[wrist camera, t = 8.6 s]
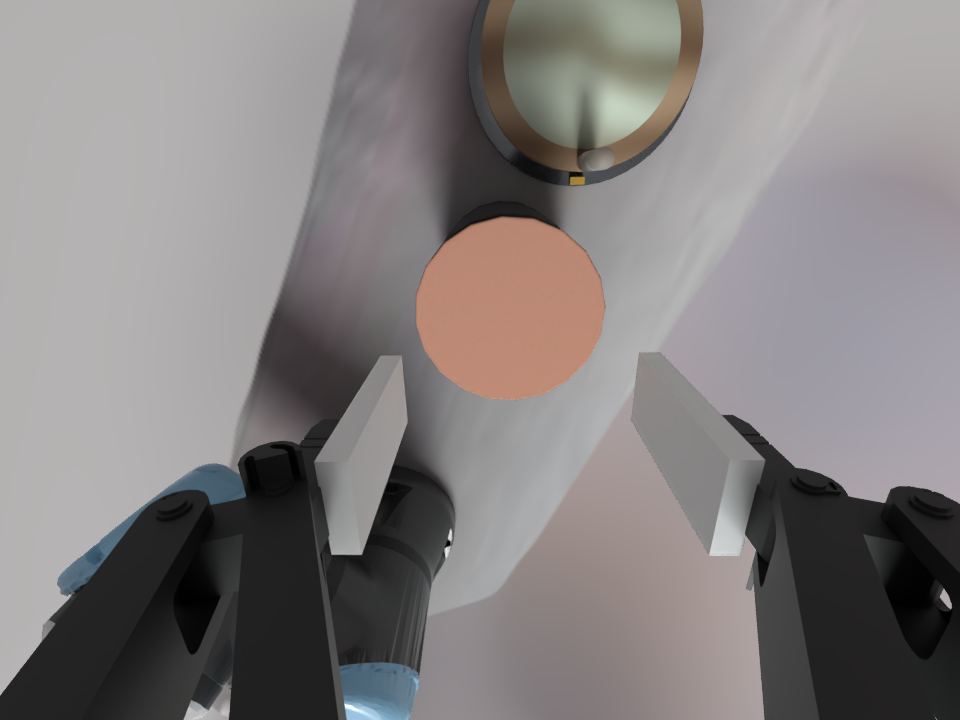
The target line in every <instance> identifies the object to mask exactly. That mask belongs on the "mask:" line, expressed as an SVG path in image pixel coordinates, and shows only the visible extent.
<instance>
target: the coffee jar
mask: <svg viewBox="0 0 960 720" xmlns="http://www.w3.org/2000/svg"><path fill="white" fill-rule="evenodd" d="M604 312H605V301H604V295H603V289H602V283H601V277H600V276H599V274H598V272H597V270H596V268H595V266H594V265H593V263H592V261H591V259H590V257H589V255H588V254H587V252H586V251H585V250H584V249H583V248H582V247H581V246H580V245H579V244H578V243H576V242H575V241H574V240H573V239H572V238H571V237H570V236H569V235H568V234H566V233H565V232H564V231H563V230H561V229H560V228H559V227H558V226H557V225H555V224H554V223H552V222H551V221H550V220H548V219H547V218H546V217H544V216H543V215H541V214H540V213H539V212H537V211H536V210H534V209H532V208H529V207H527V206H524V205H522V204H520V203H517V202H502V201H497V202H493V203H490V204H486V205H482V206H479V207H477V208H476V209H474V210H473V211H472V212H470V213H469V214H467V215H466V216H464V217H463V218H462V219H461V220H460V222H459V223H458V224H457V226H456V227H455V228H454V230H453V231H452V232H451V233H450V235H449V236H448V237H447V239H446V240H445V241H444V243H443V244H442V245H441V247H440V248H439V249H438V251H437V252H436V253H435V255H434V256H433V257H432V259H431V260H430V262H429V263H428V264H427V266H426V267H425V270H424V273H423V276H422V279H421V282H420V285H419V288H418V291H417V293H416V325H417V328H418V331H419V334H420V337H421V341H422V344H423V347H424V350H425V351H426V353H427V354H428V355H429V357H430V358H431V360H432V361H433V362H434V364H435V365H436V366H437V368H438V369H439V371H440V372H441V373H442V374H443V375H445V376H446V377H448V378H449V379H450V380H452V381H453V382H454V383H456V384H457V385H458V386H460V387H461V388H462V389H464V390H467V391H470V392H473V393H475V394H478V395H481V396H484V397H487V398H492V399H508V400H518V399H523V398H527V397H532V396H537V395H541V394H544V393H546V392H548V391H550V390H551V389H553V388H555V387H557V386H559V385H561V384H562V383H564V382H566V381H568V380H569V379H570V378H571V377H572V376H573V375H574V374H575V373H576V372H577V371H578V370H579V369H580V368H581V367H582V366H583V365H584V364H585V363H586V362H587V360H588V358H589V357H590V355H591V353H592V351H593V349H594V347H595V345H596V343H597V341H598V339H599V337H600V335H601V330H602V324H603V318H604Z"/></svg>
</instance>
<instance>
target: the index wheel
mask: <svg viewBox="0 0 960 720" xmlns="http://www.w3.org/2000/svg"><path fill="white" fill-rule="evenodd" d="M703 30H704V29H703V11H702V5H701V0H490V3H489V6H488V9H487V13H486V17H485V21H484V26H483V34H482V41H481V63H482V74H483V84H484V89H485V94H486V98H487V101H488V104H489V107H490V110H491V112H492V115H493V117H494V119H495V121H496V123H497V125H498V126H499V128H500V129H501V131H502V133H503V134H504V135H505V137H506V138H507V139H508V140H509V141H510V143H511V144H512V145H513V146H514V147H515V148H516V149H517V150H519V151H520V152H521V153H522V154H523V155H525V156H526V157H528V158H529V159H531V160H532V161H534V162H536V163H538V164H540V165H542V166H545V167H548V168H551V169H554V170H560V171H566V172H584V171H597V170H606V169H608V168H610V167H612V166H615V165H617V164H620V163H622V162H625V161H627V160H628V159H630V158H632V157H634V156H636V155H637V154H639V153H640V152H642V151H643V150H644V149H646V148H647V147H648V146H650V145H651V144H652V143H653V142H654V141H655V140H656V139H657V138H658V137H660V136H661V135H662V133H663V132H664V131H665V130H666V129H667V128H668V126H669V125H670V124H671V123H672V121H673V120H674V119H675V117H676V116H677V114H678V113H679V111H680V110H681V108H682V106H683V104H684V102H685V101H686V99H687V97H688V95H689V92H690V90H691V88H692V85H693V83H694V80H695V77H696V73H697V70H698V67H699V63H700V57H701V52H702V45H703Z"/></svg>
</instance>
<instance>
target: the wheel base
mask: <svg viewBox="0 0 960 720" xmlns="http://www.w3.org/2000/svg"><path fill="white" fill-rule="evenodd" d="M489 3H490V0H481V1H480V3H479V5H478V8H477V11H476V15H475V18H474V21H473V25H472V30H471V36H470V41H469V53H468V72H469V83H470V89H471V95H472V99H473V102H474V106H475V109H476V112H477V115H478V117H479V120H480V122H481V125H482V127H483V128H484V130H485V132H486V134H487V135H488V137H489V139H490V140H491V142H492V143H493V144H494V146H495V147H496V148H497V150H498V151H499V152H500V153H501V154H502V155H503V156H504V157H505V158H506V159H507V160H508V161H509V162H510V163H512V164H513V165H514V166H515V167H517V168H518V169H519V170H521V171H523V172H524V173H526V174H528V175H530V176H532V177H534V178H537V179H539V180H542V181H544V182H548V183H553V184H557V185H567V186H579V185H589V184H594V183H599V182H602V181H605V180H609V179H612V178H614V177H616V176H618V175H620V174H622V173H624V172H626V171H628V170H629V169H631V168H633V167H634V166H636V165H637V164H639V163H640V162H641V161H642V160H644V159H645V158H646V157H647V156H649V155H650V154H651V153H652V152H653V151H654V150H655V149H656V148H657V147H658V146H659V145H660V144H661V143H662V141H663V140H664V139H665V137H666V136H667V135H668V134H669V132H670V131H671V130H672V128H673V126H674V125H675V123H676V122H677V120H678V118H679V117H680V115H681V113H682V111H683V109H684V107H685V104H686V102H687V100H688V98H689V95H690V92H691V90H690V92H689V95H688V97H687V99H686V101H685V102H684V104H683V106H682V108H681V110H680V111H679V113H678V114H677V116H676V117H675V119H674V120H673V121H672V123H671V124H670V125H669V126H668V128H667V129H666V130H665V131H664V132H663V133H662V135H661V136H660V137H658V138H657V139H656V140H655V141H654V142H653V143H652V144H651V145H650V146H648V147H647V148H646V149H644V150H643V151H642V152H640V153H639V154H637V155H636V156H634V157H632V158H630V159H628V160H627V161H625V162H622V163H620V164H617V165H615V166H612V167H610V168H608V169H606V170H597V171H584V172H566V171H560V170H554V169H551V168H548V167H545V166H542V165H540V164H538V163H536V162H534V161H532V160H531V159H529V158H528V157H526V156H525V155H523V154H522V153H521V152H520V151H519V150H517V149H516V148H515V147H514V146H513V145H512V144H511V143H510V141H509V140H508V139H507V138H506V137H505V135H504V134H503V133H502V131H501V129H500V128H499V126H498V125H497V123H496V121H495V119H494V117H493V115H492V112H491V110H490V107H489V104H488V101H487V98H486V94H485V89H484V84H483V74H482V63H481V41H482V34H483V26H484V21H485V17H486V13H487V9H488V6H489ZM692 86H693V85H692ZM691 89H692V88H691Z"/></svg>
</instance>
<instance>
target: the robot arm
mask: <svg viewBox="0 0 960 720" xmlns="http://www.w3.org/2000/svg"><path fill="white" fill-rule="evenodd" d="M631 421H632V423H633V425H634V426H635V428H636V430H637V432H638V433H639V435H640V437H641V438H642V440H643V442H644V444H645V445H646V447H647V449H648V450H649V452H650V454H651V456H652V457H653V459H654V461H655V463H656V464H657V466H658V468H659V469H660V471H661V473H662V475H663V477H664V478H665V480H666V482H667V483H668V485H669V487H670V488H671V490H672V492H673V494H674V496H675V497H676V499H677V501H678V503H679V504H680V506H681V508H682V509H683V511H684V513H685V515H686V516H687V518H688V520H689V522H690V523H691V525H692V527H693V528H694V530H695V532H696V534H697V535H698V537H699V539H700V541H701V542H702V544H703V546H704V547H705V549H706V551H707V553H708V555H709V556H741V554H742V550H743V546H744V542H745V538H746V536H747V538H748V539H749V540H750V542H751V543H752V545H753V546H754V547H755V549H756V553H755V557H754V560H753V564H752V568H751V571H750V575H749V579H748V583H747V586H746V589H748V590H752V586H753V584H754V592H755V604H756V616H757V629H758V641H759V655H760V667H761V680H762V692H763V704H764V717H765V720H936V719H937V720H960V504H959V503H957V502H956V501H953V500H951V499H949V498H947V497H945V496H944V495H942V494H940V493H937V492H932V491H931V490H928V489H922V488H921V489H920V488H915V487H910V486H907V487H906V486H905V487H903V486H899V487H895V488H893V489H891V490H890V492H889V495H888V497H887V500H886V502H885V503H881V502H875V501H870V500H864V499H859V498H853V497H849V496H848V495H847V493H846V491H845V490H844V489H843V487H842V486H841V485H839V484H838V483H836V482H835V481H834V480H832V479H831V478H828V477H826V476H824V475H822V474H820V473H817V472H814V471H810V470H807V469H799V468H795V467H794V466H793V465H792V464H791V463H790V462H789V461H788V460H787V459H786V458H785V457H784V456H783V455H782V454H780V453H779V452H778V451H777V450H776V449H775V448H774V447H773V446H772V445H769V442H768V441H767V440H766V439H765V438H764V437H762V436H760V434H759V433H758V432H757V431H756V430H755V429H754V428H753V427H752V426H751V425H750V424H749V423H747V422H745V421H743V420H741V419H739V418H737V417H736V416H734V415H721V414H720V413H719V412H718V411H717V410H716V409H715V408H714V407H713V406H712V405H711V404H710V403H709V402H708V401H707V400H706V399H705V398H704V397H703V396H702V394H700V393H699V391H698V390H696V388H695V387H694V386H693V385H692V384H691V383H690V382H689V381H688V380H687V379H686V378H685V377H684V376H683V375H682V374H681V373H680V372H679V371H678V370H677V369H676V368H675V367H674V366H673V365H672V364H671V363H670V362H669V361H668V360H667V359H666V357H664V356H663V354H661V353H660V352H657V353H639V357H638V365H637V374H636V382H635V391H634V399H633V409H632V416H631ZM407 423H408V419H407V408H406V397H405V386H404V376H403V365H402V355H392V356H380V358H379V359H378V361H377V362H376V364H375V366H374V367H373V369H372V370H371V372H370V374H369V375H368V377H367V378H366V380H365V382H364V383H363V385H362V386H361V388H360V389H359V391H358V393H357V394H356V396H355V397H354V399H353V401H352V402H351V404H350V405H349V407H348V409H347V410H346V412H345V413H344V415H343V417H342V418H341V419H324V420H322V421H321V422H319V423H318V424H317V425H315V426H314V427H312V428H311V429H310V431H309V432H308V433H307V435H306V436H305V437H304V440H302V442H301V443H300V444H299V445H298V444H295V443H293V442H288V441H278V442H270V443H267V444H264V445H260V446H258V447H256V448H254V449H252V450H250V451H248V452H247V453H246V454H245V455H243V456H242V457H241V458H240V461H239V463H238V467H239V471H240V475H239V474H237V473H236V472H234V471H233V470H231V469H230V468H228V467H227V466H224V465H221V464H206V465H202V466H200V467H198V468H196V469H194V470H192V471H190V472H189V473H188V474H186V475H184V476H183V477H182V478H180V479H179V480H177V481H176V482H175V483H173V484H172V485H170V486H169V487H168V488H166V489H165V490H164V491H162V492H161V493H160V494H158V495H157V496H156V497H154V498H153V499H152V500H151V501H149V502H148V503H147V504H145V505H144V506H143V507H141V508H140V509H139V510H138V511H136V512H135V513H134V514H132V515H131V516H130V517H129V518H127V519H126V520H125V521H124V522H122V523H121V524H120V525H119V526H117V527H116V528H115V529H114V530H112V531H111V532H110V533H109V534H108V535H106V536H105V537H104V538H103V539H101V541H100V542H99V543H98V544H96V545H95V546H93V547H92V548H91V549H90V550H89V551H88V552H87V553H85V554H84V555H83V556H81V557H80V558H78V559H77V560H76V561H75V562H74V563H73V564H71V565H70V566H69V567H68V568H67V569H66V570H65V571H64V572H63V573H62V574H61V575H60V576H59V578H58V582H57V585H58V586H59V588H60V589H61V594H62V595H65V596H68V595H69V594H71V595H72V596H71V597H70V598H69V600H68V601H67V602H66V603H65V604H64V605H63V606H62V607H61V608H60V609H59V610H58V611H57V612H56V613H55V614H54V615H53V616H52V617H51V618H50V619H49V620H48V621H47V622H46V623H45V624H44V625H43V630H42V642H41V643H40V645H39V646H38V647H37V649H36V650H35V651H34V652H33V654H32V655H31V656H30V658H29V659H28V660H27V662H26V663H25V664H24V666H23V667H22V668H21V669H20V671H19V672H18V673H17V675H16V676H15V677H14V679H13V680H12V681H11V682H10V684H9V685H8V686H7V688H6V689H5V690H4V691H3V693H2V694H1V695H0V720H196V719H198V718H201V717H203V716H204V715H205V714H206V713H207V711H208V710H209V709H210V707H211V706H212V704H213V703H214V701H215V700H216V698H217V697H218V695H219V694H220V692H221V691H222V689H223V688H224V687H225V686H226V687H228V688H230V689H231V700H230V713H229V720H410V717H411V712H412V707H413V703H414V698H415V694H416V691H417V689H418V687H419V678H420V677H419V672H420V665H421V658H422V657H421V656H422V650H423V642H424V635H425V628H426V620H427V613H428V605H429V598H430V590H431V585H432V583H433V581H434V579H435V577H436V575H437V574H438V572H439V570H440V568H441V567H442V565H443V563H444V561H445V559H446V558H447V556H448V554H449V552H450V550H451V547H452V544H453V540H454V532H455V514H454V510H453V507H452V504H451V502H450V500H449V498H448V497H447V495H446V494H445V493H444V491H443V490H442V489H441V488H440V487H439V486H438V485H437V484H436V483H434V482H433V481H432V480H430V479H429V478H427V477H425V476H424V475H422V474H420V473H418V472H415V471H412V470H409V469H406V468H401V467H395V466H393V463H394V460H395V457H396V454H397V452H398V449H399V446H400V443H401V440H402V437H403V434H404V431H405V428H406V425H407ZM943 589H945V591H946V592H947V594H948V595H949V598H950V601H951V603H952V609H951V610H950V609H949V608H948V607H947V606H946V605H945V604H944V602H943V601H942V600H941V599H940V595H941V593H942V591H943ZM934 715H935V716H934ZM935 717H936V718H935Z"/></svg>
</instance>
